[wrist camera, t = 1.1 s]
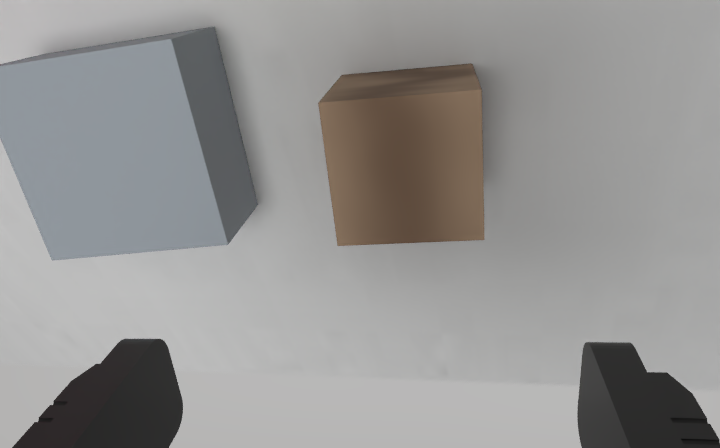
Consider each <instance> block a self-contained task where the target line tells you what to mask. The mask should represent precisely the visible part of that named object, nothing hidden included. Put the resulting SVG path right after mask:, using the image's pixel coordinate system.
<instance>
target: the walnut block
mask: <svg viewBox="0 0 720 448" xmlns="http://www.w3.org/2000/svg"><path fill="white" fill-rule="evenodd" d="M318 104H319V111H320V119H321V126H322V134H323V141H324V148H325V156H326V163H327V170H328V178H329V185H330V193H331V200H332V207H333V215H334V222H335V229H336V237H337V244H338V246H345V245H370V244H394V243H418V242H443V241H467V240H484V194H483V140H482V89H481V87H480V84H479V81H478V78H477V76H476V73H475V70H474V68H473V65H472V64H462V65H450V66H439V67H428V68H416V69H405V70H394V71H382V72H371V73H360V74H348V75H342V76H341V77H340V78H339V79H338V80H337V82H336V83H335V84H334V85H333V86H332V87H331V89H330V90H329V91H328V92H327V93H326V94H325V96H324V97H323V98H322V99H321V100H320V101H319V103H318Z"/></svg>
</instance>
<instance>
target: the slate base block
mask: <svg viewBox="0 0 720 448" xmlns="http://www.w3.org/2000/svg"><path fill="white" fill-rule="evenodd" d="M0 138H1V141H2V143H3V145H4V148H5V150H6V153H7V155H8V157H9V160H10V162H11V164H12V167H13V169H14V172H15V174H16V176H17V179H18V181H19V183H20V186H21V188H22V191H23V193H24V195H25V198H26V200H27V202H28V205H29V207H30V210H31V212H32V214H33V217H34V219H35V221H36V224H37V226H38V229H39V231H40V233H41V236H42V238H43V240H44V243H45V245H46V248H47V250H48V252H49V255H50V257H51V259H52V260H63V259H74V258H85V257H96V256H108V255H119V254H130V253H141V252H152V251H163V250H174V249H186V248H197V247H208V246H219V245H228V244H229V243H230V241H231V240H232V239H233V237H234V236H235V235H236V233H237V232H238V231H239V229H240V228H241V226H242V225H243V224H244V222H245V221H246V220H247V218H248V217H249V216H250V214H251V213H252V212H253V210H254V209H255V208H256V206H257V205H258V203H257V199H256V195H255V191H254V186H253V182H252V178H251V174H250V170H249V166H248V162H247V158H246V154H245V150H244V146H243V141H242V137H241V133H240V129H239V125H238V121H237V117H236V113H235V109H234V105H233V101H232V97H231V92H230V88H229V84H228V80H227V76H226V72H225V68H224V64H223V60H222V56H221V52H220V48H219V43H218V39H217V35H216V31H215V27H209V28H203V29H197V30H190V31H184V32H178V33H172V34H166V35H160V36H153V37H147V38H141V39H135V40H129V41H123V42H116V43H110V44H104V45H98V46H92V47H86V48H79V49H73V50H67V51H61V52H55V53H48V54H43V55H38V56H34V57H30V58H25V59H21V60H17V61H12V62H8V63H4V64H0Z"/></svg>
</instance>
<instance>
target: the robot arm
mask: <svg viewBox="0 0 720 448" xmlns="http://www.w3.org/2000/svg"><path fill="white" fill-rule="evenodd" d="M182 413H183V403H182V397H181V394H180V390H179V386H178V382H177V379H176V375H175V371H174V368H173V364H172V360H171V357H170V353H169V350H168V347H167V345H166V343H165V342H164V341H163V340H161V339H123V340H121V341H120V342H119V343H118V344H117V345H116V346H115V347H114V348H113V350H112V351H111V352H110V353H109V354H108V356H107V357H106V358H105V359H104V360H103V361H102V363H101V364H96V365H94V366H93V367H91V368H90V369H88V370H87V371H85V372H84V373H83V374H81V375H80V376H78V377H77V378H75V379H74V380H72V381H71V382H70V383H69V385H68V386H67V387H66V388H65V389H64V390H63V391H62V392H61V394H60V395H59V396H58V397H57V398H56V399H55V400H54V404H53V405H50V406H49V407H48V408H47V409H46V410H45V411H44V413H43V414H42V415H41V416H40V417H39V421H38V422H35V423H34V424H33V425H32V426H31V427H30V429H28V431H27V432H26V433H25V434H24V435H23V436H22V437H21V439H20V440H19V441H18V442H17V443H16V444H15V445H14V446H13V447H12V448H169V446H170V444H171V442H172V441H173V438H174V437H175V435H176V433H177V432H178V429H179V427H180V423H181V420H182ZM578 429H579V436H580V442H581V446H582V448H720V443H719V438H718V437H717V435H716V433H715V432H714V430H713V428H712V427H711V425H710V424H708V423H707V418H706V416H705V415H704V413H703V411H702V409H701V408H700V406H699V404H698V403H697V401H696V399H695V398H694V396H693V394H692V393H691V392H690V391H688V390H687V389H686V388H685V387H684V386H682V385H681V384H680V383H679V382H678V381H676V380H675V379H674V378H673V377H672V376H670V375H669V374H668V373H655V372H647V371H646V369H645V367H644V365H643V363H642V361H641V359H640V357H639V355H638V353H637V351H636V349H635V347H634V346H633V345H632V344H631V343H604V342H586V343H585V345H584V348H583V354H582V366H581V377H580V389H579V400H578Z"/></svg>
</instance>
